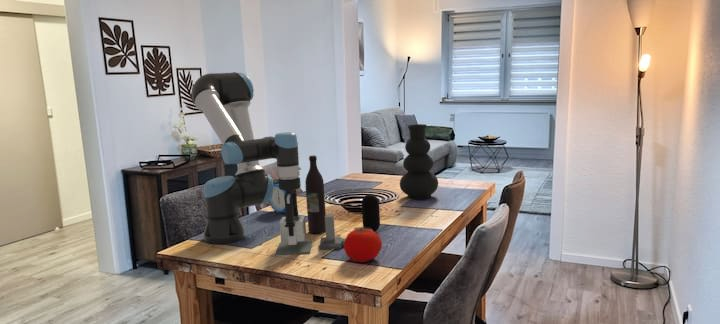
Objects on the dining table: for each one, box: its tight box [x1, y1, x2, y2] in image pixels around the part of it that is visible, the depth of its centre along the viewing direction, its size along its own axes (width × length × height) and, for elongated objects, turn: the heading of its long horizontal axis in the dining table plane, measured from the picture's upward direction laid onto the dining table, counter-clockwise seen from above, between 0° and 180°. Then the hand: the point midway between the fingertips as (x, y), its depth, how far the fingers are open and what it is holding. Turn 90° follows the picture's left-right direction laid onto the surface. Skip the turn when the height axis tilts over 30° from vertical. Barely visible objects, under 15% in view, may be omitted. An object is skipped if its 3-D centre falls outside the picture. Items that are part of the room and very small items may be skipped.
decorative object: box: [361, 193, 381, 233], centre depth 193 cm, size 7×7×15 cm
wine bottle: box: [305, 154, 327, 235], centre depth 196 cm, size 7×7×30 cm
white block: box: [278, 215, 307, 243], centre depth 179 cm, size 8×8×7 cm
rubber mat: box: [274, 240, 313, 256], centre depth 180 cm, size 12×12×1 cm
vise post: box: [319, 214, 373, 251], centre depth 180 cm, size 19×8×11 cm, turn 91°
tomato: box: [343, 228, 383, 263], centre depth 165 cm, size 11×12×10 cm
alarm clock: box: [268, 178, 286, 214], centre depth 231 cm, size 13×6×15 cm, turn 53°
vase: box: [399, 123, 439, 200], centre depth 243 cm, size 18×18×35 cm
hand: (294, 240), depth 179 cm, fingers closed on white block, 8 cm apart
